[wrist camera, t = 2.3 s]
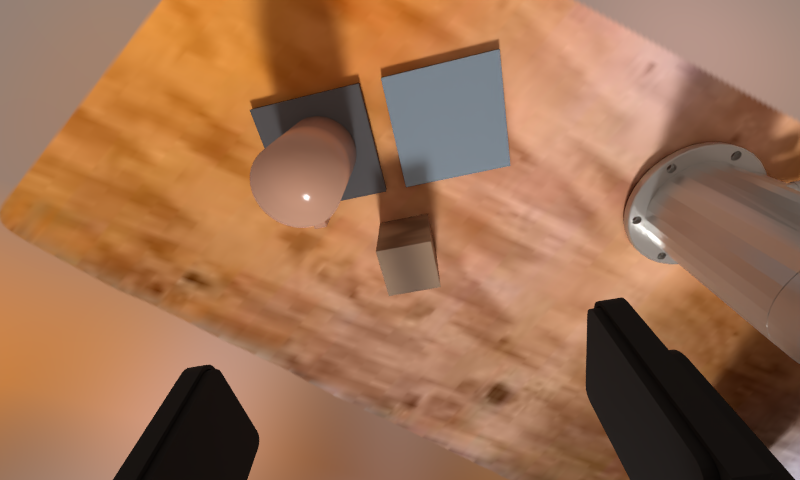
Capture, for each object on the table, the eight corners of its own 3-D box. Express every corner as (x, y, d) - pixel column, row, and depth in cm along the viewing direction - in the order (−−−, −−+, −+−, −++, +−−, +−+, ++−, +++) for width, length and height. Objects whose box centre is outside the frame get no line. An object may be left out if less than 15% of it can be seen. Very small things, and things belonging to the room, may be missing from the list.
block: (427, 213, 39) (430, 241, 34) (436, 254, 41) (440, 286, 36) (380, 222, 40) (375, 251, 34) (391, 263, 42) (389, 296, 37)
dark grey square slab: (359, 82, 33) (358, 83, 33) (386, 189, 38) (386, 191, 37) (252, 109, 34) (249, 110, 34) (291, 209, 39) (289, 211, 38)
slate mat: (498, 49, 32) (499, 49, 31) (508, 163, 36) (510, 165, 36) (381, 77, 33) (381, 78, 32) (406, 185, 37) (406, 187, 37)
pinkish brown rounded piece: (345, 108, 34) (325, 131, 26) (367, 189, 37) (356, 231, 29) (274, 125, 34) (234, 152, 26) (303, 202, 38) (275, 246, 30)
